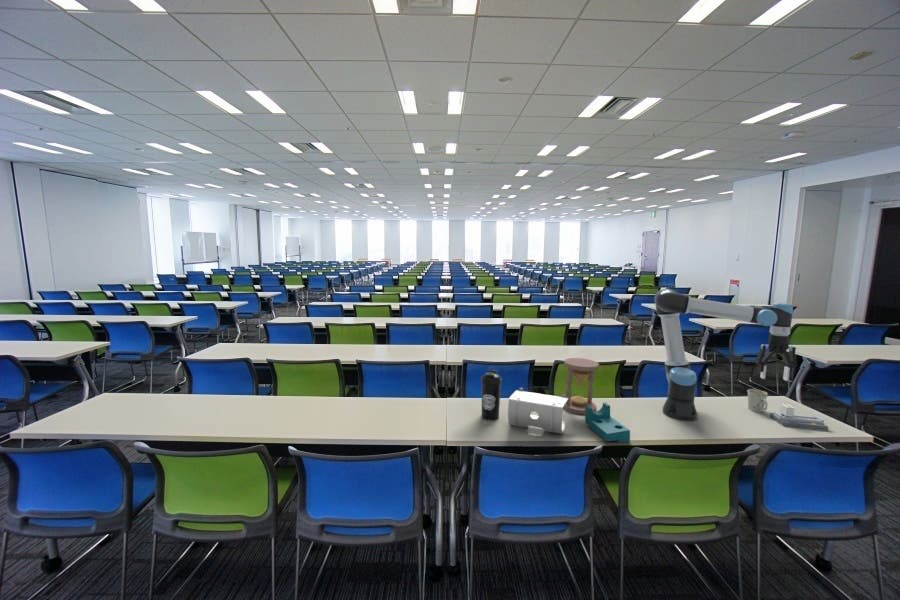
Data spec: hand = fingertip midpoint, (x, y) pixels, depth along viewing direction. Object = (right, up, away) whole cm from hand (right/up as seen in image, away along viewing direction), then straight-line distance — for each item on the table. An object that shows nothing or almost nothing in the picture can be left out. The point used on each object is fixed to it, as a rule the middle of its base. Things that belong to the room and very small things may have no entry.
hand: (773, 379), depth 185 cm
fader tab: (+6, -19, 0) cm, 20 cm away
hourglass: (-92, -19, +14) cm, 95 cm away
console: (+11, -22, -1) cm, 25 cm away
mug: (+3, -20, +14) cm, 25 cm away
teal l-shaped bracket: (-89, -22, -14) cm, 93 cm away
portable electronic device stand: (-120, -21, -9) cm, 122 cm away
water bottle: (-141, -19, +1) cm, 142 cm away
